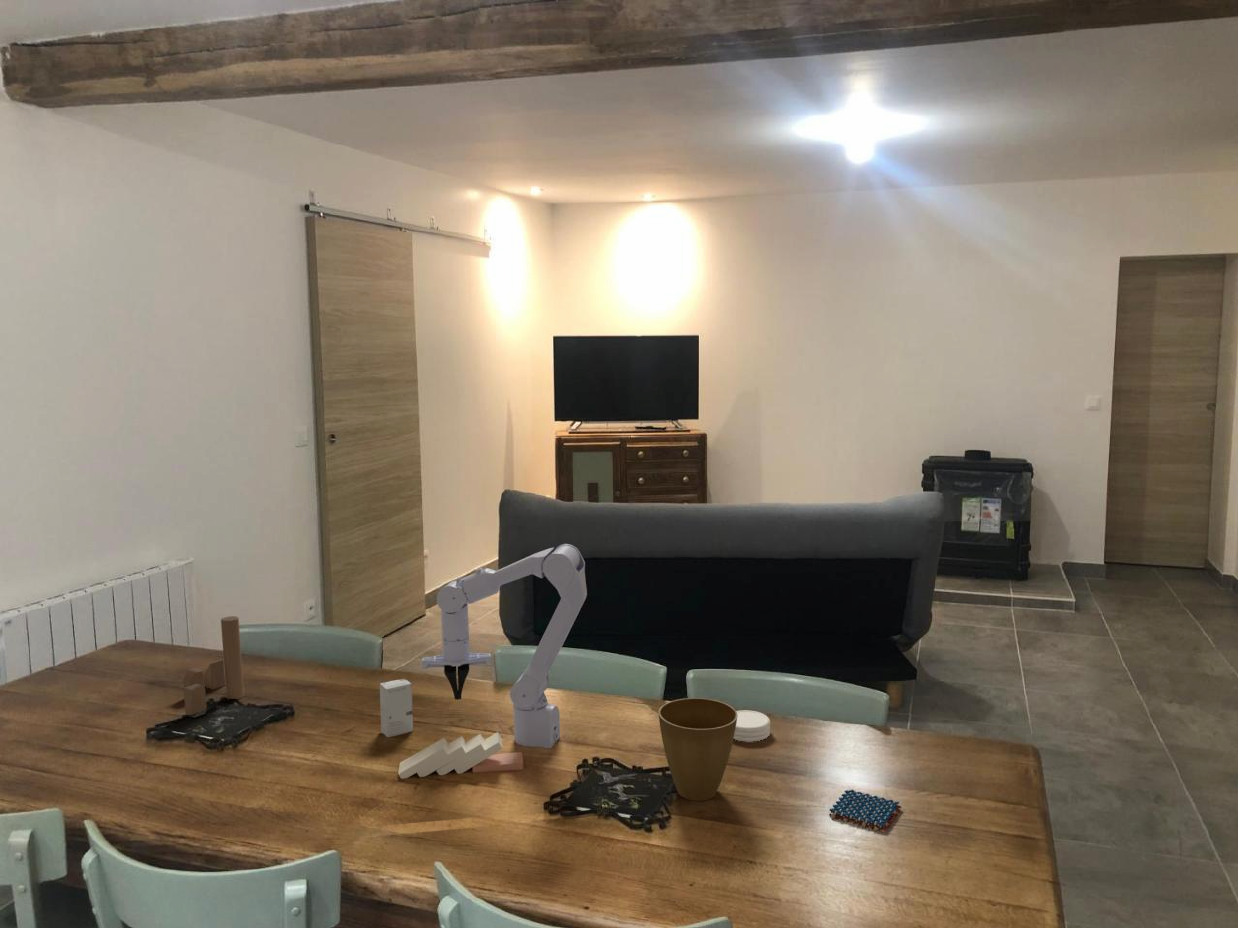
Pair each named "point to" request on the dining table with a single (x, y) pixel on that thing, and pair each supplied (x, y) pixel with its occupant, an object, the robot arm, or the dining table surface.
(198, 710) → the wooden blocks
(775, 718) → the dining table surface
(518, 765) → the end domino
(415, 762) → the domino
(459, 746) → the domino
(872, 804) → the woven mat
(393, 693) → the skincare box
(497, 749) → the domino
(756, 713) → the white round disc
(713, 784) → the plant pot
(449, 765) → the domino
